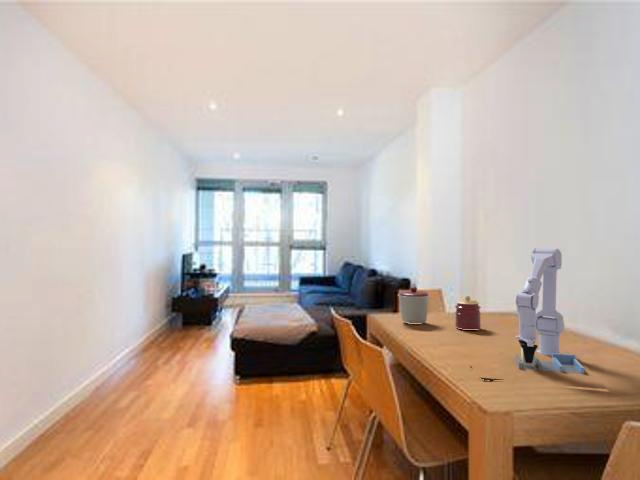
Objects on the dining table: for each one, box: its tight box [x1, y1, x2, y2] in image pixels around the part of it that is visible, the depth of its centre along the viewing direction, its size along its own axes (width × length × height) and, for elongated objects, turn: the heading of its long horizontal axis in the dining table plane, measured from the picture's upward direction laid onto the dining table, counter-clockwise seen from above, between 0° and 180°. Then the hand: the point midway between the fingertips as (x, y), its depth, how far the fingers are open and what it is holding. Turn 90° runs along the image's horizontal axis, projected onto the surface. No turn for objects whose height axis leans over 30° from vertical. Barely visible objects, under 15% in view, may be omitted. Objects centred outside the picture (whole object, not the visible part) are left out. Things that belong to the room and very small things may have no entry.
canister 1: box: [397, 286, 431, 324], centre depth 239 cm, size 18×18×21 cm
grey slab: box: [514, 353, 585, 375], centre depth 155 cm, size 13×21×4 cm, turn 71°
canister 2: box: [454, 295, 482, 330], centre depth 223 cm, size 13×13×18 cm
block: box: [520, 346, 536, 367], centre depth 157 cm, size 4×4×6 cm
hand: (527, 361), depth 157 cm, fingers closed on block, 4 cm apart
